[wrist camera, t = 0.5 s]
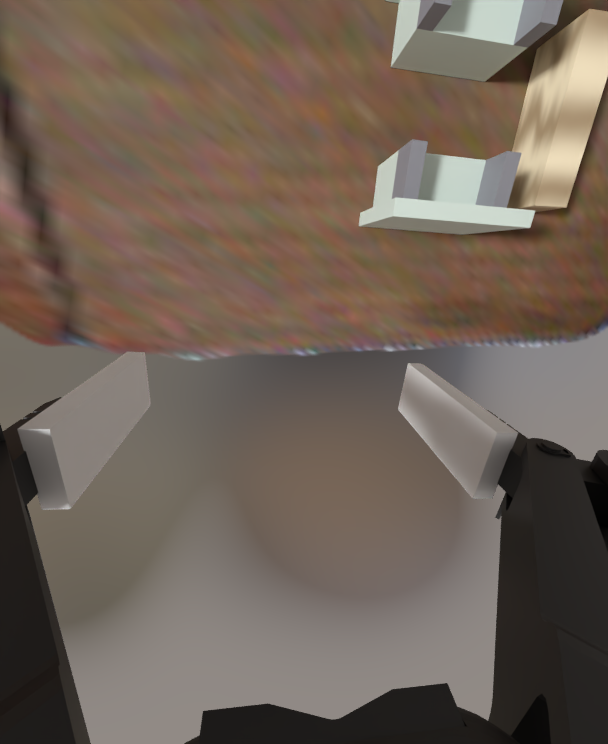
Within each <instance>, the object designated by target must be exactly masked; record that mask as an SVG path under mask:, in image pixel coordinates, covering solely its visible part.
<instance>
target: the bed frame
mask: <svg viewBox="0 0 608 744" xmlns="http://www.w3.org/2000/svg"><path fill="white" fill-rule="evenodd" d="M385 1H389V2H394V3H399V7H398V15H397V23H396V31H395V39H394V47H393V54H392V62H391V68H397V69H404V70H411V71H417V72H424V73H430V74H437V75H443V76H450V77H457V78H463V79H470V80H476V81H483V82H485V81H486V80H488V79H489V78H490V77H491V76H493V75H494V74H495V73H496V72H498V71H499V70H500V69H501V68H503V67H504V66H505V65H506V64H508V63H509V62H510V61H512V60H513V59H514V58H515V57H517V56H518V55H519V54H520V53H522V52H523V51H524V50H525V49H527V48H528V47H529V46H530V45H532V44H533V43H534V42H535V41H537V40H538V39H539V38H541V37H542V36H543V35H544V34H546V33H547V32H548V31H549V30H551V29H552V28H553V27H554V26H556V25H557V21H558V17H559V14H560V10H561V6H562V3H563V0H385ZM427 143H428V141H420V140H411V141H410V142H408V143H407V144H406V145H405V146H403V147H402V148H401V149H400V150H398V151H397V152H396V153H395V154H393V155H392V156H391V157H389V158H388V159H387V160H386V161H384V162H383V163H382V164H381V165H379V166H378V172H377V179H376V187H375V195H374V203H373V208H370V209H368V210H366V211H364V212H361V213H360V221H359V226H361V227H374V228H386V229H399V230H411V231H423V232H436V233H448V234H461V235H463V234H473V233H484V232H494V231H504V230H514V229H524V228H530V227H531V223H532V220H533V217H534V213H535V211H534V210H524V209H513V208H507V205H508V202H509V198H510V194H511V191H512V187H513V183H514V180H515V176H516V172H517V168H518V165H519V161H520V157H521V154H522V153H519V152H511V151H506V152H504V153H502V154H499V155H497V156H495V157H492V158H490V159H488V160H479V159H471V158H462V157H454V156H445V155H436V154H428V153H426V149H427Z"/></svg>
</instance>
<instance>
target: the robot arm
mask: <svg viewBox="0 0 608 744" xmlns="http://www.w3.org/2000/svg"><path fill="white" fill-rule="evenodd" d="M150 405H151V402H150V394H149V385H148V376H147V368H146V360H145V353H144V352H126V353H125V354H123V355H122V356H121V357H119V358H118V359H116V360H115V361H114V362H112V363H111V364H109V365H108V366H106V367H105V368H104V369H102V370H101V371H99V372H98V373H96V374H95V375H94V376H92V377H91V378H89V379H88V380H86V381H85V382H84V383H82V384H81V385H79V386H78V387H76V388H75V389H74V390H72V391H71V392H69V393H68V394H67V395H65V396H64V397H62V398H61V397H60V398H57V399H55V400H52V401H50V402H47V403H45V404H43V405H42V406H40V407H39V408H37V409H36V410H34V411H33V413H30V414H28V415H27V416H25V417H24V418H23V420H19V421H18V422H16V423H15V424H13V425H12V426H10V427H9V428H7V429H6V430H5V431H2V428H1V425H0V744H91V743H90V739H89V736H88V732H87V728H86V724H85V720H84V717H83V713H82V709H81V705H80V702H79V698H78V694H77V690H76V687H75V683H74V679H73V675H72V672H71V668H70V664H69V660H68V657H67V653H66V649H65V645H64V641H63V638H62V634H61V630H60V627H59V623H58V619H57V615H56V611H55V608H54V604H53V600H52V596H51V593H50V589H49V586H48V581H47V578H46V574H45V570H44V566H43V562H42V559H41V555H40V551H39V548H38V544H37V540H36V536H35V533H34V529H33V525H32V521H31V517H30V514H29V511H28V508H27V504H28V503H29V501H31V500H32V499H33V497H35V495H36V494H37V495H38V498H39V502H40V505H41V508H42V510H45V509H46V510H47V509H70V508H71V507H72V506H73V505H74V504H75V502H76V501H77V499H78V498H79V497H80V496H81V494H82V493H83V492H84V490H85V489H86V488H87V487H88V485H89V484H90V483H91V482H92V480H93V479H94V478H95V476H96V475H97V474H98V473H99V471H100V470H101V469H102V467H103V466H104V465H105V463H106V462H107V461H108V460H109V458H110V457H111V456H112V454H113V453H114V452H115V450H116V449H117V448H118V446H119V445H120V444H121V442H122V441H123V440H124V439H125V438H126V436H127V435H128V433H129V432H130V431H131V430H132V428H133V427H134V426H135V425H136V423H137V422H138V421H139V419H140V418H141V417H142V415H143V414H144V413H145V412H146V410H147V409H148V407H149V406H150ZM398 410H399V411H400V412H401V413H402V415H403V416H404V417H405V418H406V419H407V420H408V422H409V423H410V424H411V425H412V426H413V428H414V429H415V430H416V431H417V432H418V434H419V435H420V436H421V437H422V438H423V440H424V441H425V442H426V443H427V444H428V446H429V447H430V448H431V449H432V450H433V452H434V453H435V454H436V455H437V456H438V458H439V459H440V460H441V461H442V462H443V463H444V465H445V466H446V467H447V468H448V470H449V471H450V472H451V473H452V474H453V476H454V477H455V478H456V479H457V480H458V481H459V483H460V484H461V485H462V486H463V487H464V489H465V490H466V491H467V492H468V493H469V495H470V496H471V497H472V498H473V499H486V498H493V496H494V493H495V491H496V488H497V485H498V484H499V485H500V486H501V487H502V488H503V489H504V490H505V491H506V493H505V496H504V498H503V501H502V503H501V505H500V508H499V510H498V513H497V515H496V518H498V519H499V518H500V517H501V516H502V518H501V538H500V559H499V580H498V599H497V620H496V640H495V661H494V682H493V683H494V684H493V699H492V707H491V713H490V717H489V720H488V721H487V720H486V719H484V718H482V717H480V716H478V715H477V714H474V713H472V712H470V711H467V710H465V709H462V708H460V707H457V706H456V703H455V701H454V698H453V696H452V693H451V691H450V689H449V686H448V684H447V683H445V684H436V685H427V686H418V687H410V688H401V689H393V690H391V691H389V692H387V693H385V694H383V695H382V696H380V697H378V698H376V699H374V700H372V701H371V702H369V703H367V704H365V705H363V706H362V707H360V708H358V709H356V710H354V711H353V712H351V713H349V714H347V715H346V716H344V717H342V718H340V719H336V720H331V719H326V718H322V717H318V716H314V715H310V714H307V713H303V712H299V711H295V710H291V709H287V708H283V707H279V706H275V705H271V704H261V705H252V706H244V707H236V708H235V707H234V708H226V709H217V710H208V711H203V716H202V724H201V730H200V735H199V736H197V737H196V738H194V739H192V740H190V741H188V742H186V743H185V744H608V451H607V450H599V451H598V452H597V453H596V455H595V457H594V459H593V461H592V462H590V461H584V460H579V459H576V457H575V456H574V455H573V453H572V452H570V451H569V450H567V449H566V448H564V447H562V446H560V445H558V444H556V443H554V442H551V441H548V440H543V439H538V438H531V439H527V438H526V437H525V436H524V435H522V434H521V433H519V432H518V431H517V430H515V429H514V428H512V427H511V426H510V425H508V424H506V423H505V422H504V421H503V420H501V419H498V417H497V416H496V415H494V414H493V413H491V412H490V411H488V410H486V409H484V408H483V407H482V406H480V405H479V404H477V403H476V402H474V401H473V400H472V399H470V398H469V397H468V396H466V395H465V394H463V393H462V392H460V391H459V390H458V389H456V388H455V387H453V386H452V385H451V384H449V383H448V382H447V381H445V380H444V379H442V378H441V377H440V376H438V375H437V374H435V373H434V372H433V371H431V370H430V369H428V368H427V367H426V366H424V365H423V364H417V363H414V364H413V363H408V366H407V371H406V375H405V380H404V384H403V389H402V394H401V398H400V403H399V407H398Z"/></svg>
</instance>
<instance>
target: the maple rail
mask: <svg viewBox="0 0 608 744" xmlns="http://www.w3.org/2000/svg"><path fill="white" fill-rule="evenodd" d="M607 77H608V11H601V10H595V9H589V10H587V11H586V12H585V13H583V14H582V15H581V16H579V17H578V18H577V19H575V20H574V21H573V22H571V23H570V24H569V25H568V26H566V27H565V28H564V29H562V30H561V31H560V32H558V33H557V34H556V35H554V36H553V37H552V38H550V39H549V40H548V41H546V42H545V43H544V44H543V45H541V46H540V47H539V48H537V51H536V55H535V59H534V63H533V68H532V72H531V76H530V80H529V84H528V88H527V92H526V97H525V101H524V105H523V109H522V113H521V117H520V121H519V126H518V130H517V134H516V138H515V142H514V146H513V150H512V152H519V153H522V154H521V157H520V161H519V165H518V168H517V172H516V176H515V180H514V183H513V187H512V191H511V194H510V198H509V202H508V205H507V208H513V209H524V210H534V211H535V212H540V211H547V210H553V209H560V208H566V207H567V204H568V201H569V198H570V194H571V191H572V188H573V185H574V182H575V179H576V175H577V172H578V169H579V166H580V163H581V159H582V156H583V153H584V150H585V147H586V144H587V140H588V137H589V134H590V131H591V128H592V125H593V121H594V118H595V115H596V112H597V109H598V105H599V102H600V99H601V96H602V93H603V90H604V86H605V83H606V80H607Z"/></svg>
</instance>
